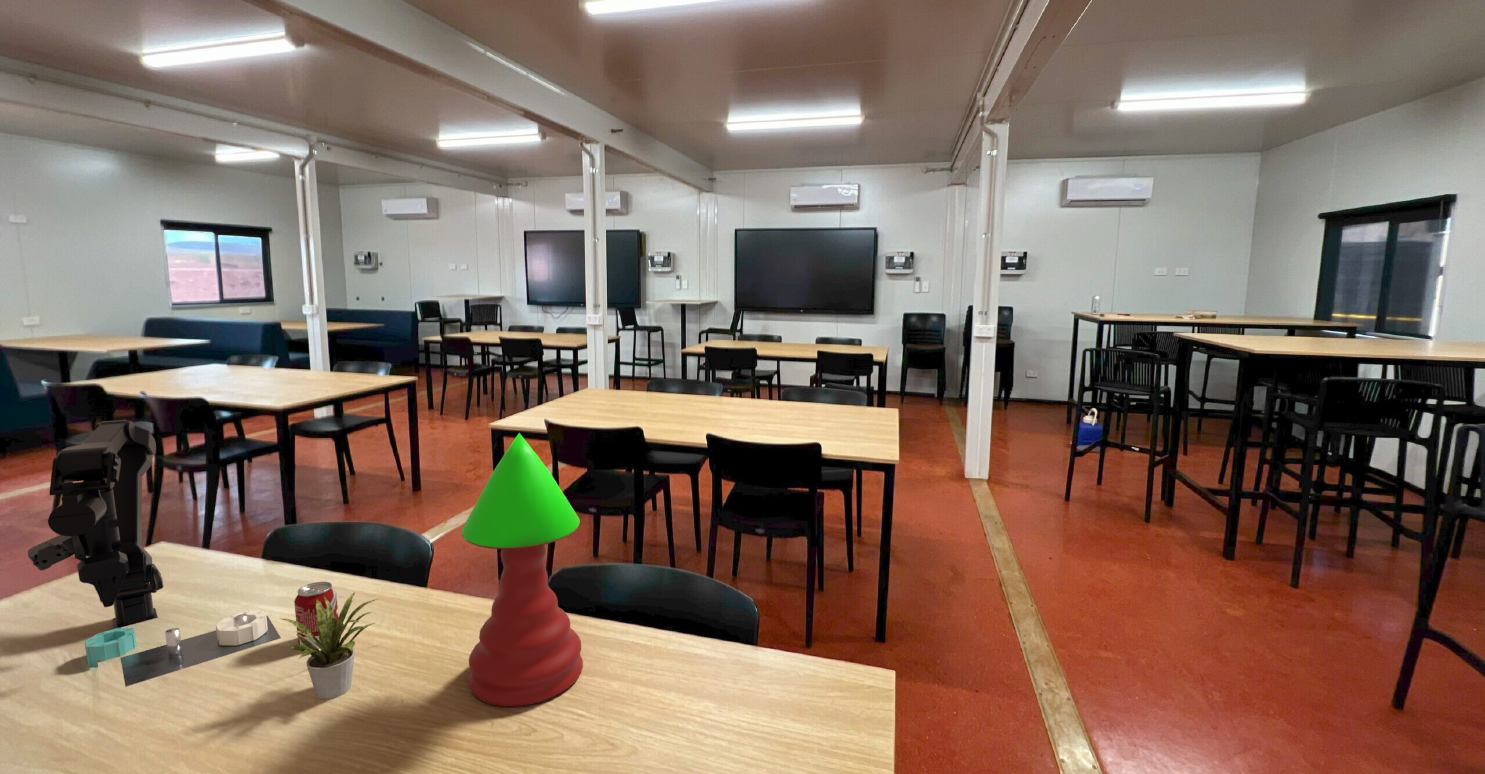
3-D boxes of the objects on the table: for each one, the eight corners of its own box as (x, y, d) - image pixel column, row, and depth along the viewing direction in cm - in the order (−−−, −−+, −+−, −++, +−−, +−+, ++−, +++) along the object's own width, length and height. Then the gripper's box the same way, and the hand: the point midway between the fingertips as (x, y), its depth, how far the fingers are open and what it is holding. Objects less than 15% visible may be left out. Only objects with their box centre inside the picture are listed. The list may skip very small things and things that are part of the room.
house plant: (406, 675, 117) (400, 590, 115) (336, 723, 104) (328, 629, 102) (346, 659, 122) (340, 577, 119) (272, 703, 109) (263, 612, 106)
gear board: (121, 663, 119) (117, 631, 118) (267, 620, 135) (265, 592, 134) (126, 692, 111) (122, 659, 110) (281, 643, 126) (278, 613, 126)
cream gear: (215, 634, 127) (213, 620, 126) (262, 620, 132) (260, 606, 132) (221, 650, 122) (220, 635, 121) (270, 634, 127) (269, 620, 126)
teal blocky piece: (87, 656, 121) (84, 636, 120) (135, 643, 126) (132, 623, 125) (88, 671, 116) (85, 650, 116) (138, 656, 121) (135, 637, 120)
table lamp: (537, 633, 132) (531, 416, 125) (605, 667, 121) (602, 431, 114) (445, 680, 116) (432, 434, 109) (513, 724, 105) (503, 454, 98)
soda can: (320, 657, 122) (315, 598, 120) (290, 653, 123) (284, 593, 121) (348, 639, 129) (344, 582, 127) (319, 634, 130) (314, 578, 128)
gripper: (27, 513, 117) (40, 594, 119) (28, 544, 104) (43, 633, 107) (112, 499, 125) (123, 575, 128) (123, 526, 113) (135, 609, 115)
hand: (106, 597), depth 119 cm, fingers open, 9 cm apart
